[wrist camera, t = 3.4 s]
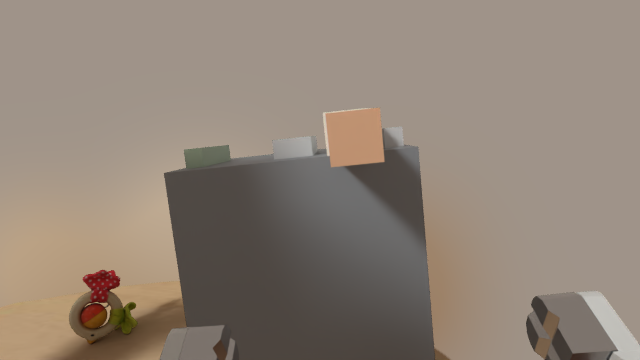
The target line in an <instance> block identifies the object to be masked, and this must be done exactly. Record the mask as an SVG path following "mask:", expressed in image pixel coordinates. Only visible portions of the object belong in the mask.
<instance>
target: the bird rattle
mask: <svg viewBox="0 0 640 360" xmlns="http://www.w3.org/2000/svg"><path fill="white" fill-rule="evenodd" d="M83 281H84V282H85V283H86V284H87V285H88V287H89V288H90V289H91V291H90V292H88V293H86V294H84V295H82V296H81V297H80V298H79V299H77V301H76V302H75V303H74V304H73V306H72V308H71V310H70V315H69V322H70V326H71V328H72V329H73V330H74V332H75V333H76V334H77V335H79V336H81V337H83V338H85V339H87V342H88V343H89V344H92V343H93V342H94V341H95V340H96V339H98V338H101V337H104V336H106V335H107V334H109V333H110V332H112V331H113V330H114V329H115V330H117V329H118V328H119V327H120V326H121V329H122V332H123V333H124V334H129V333H130V332H131V329H132V328H135V326H136V325H137V321H136V320H135V319H134V318H133V317H131V313H130V310H132V309H134V308H135V307H136V304H135V303H134V302H130V303H128V304H127V305H126V306H125V307H124V308H123V306H122V303H121V301H120V299H119V298H118V297H117V296H116V295H115V294H114V293H112V292H110V290H111V289H114V288H116V287H118V286H119V285H120V283H119V282H120V278H119V277H118V276H116V275H115V272H114V270H111V271H109V272H107V271H105V270H100V271H99V272H96V273H94V274H88V275H86V276H85V277H83ZM94 302H99V303H108V305H107V306H106V307H108V306H109V305H110V306H111V310H110V318H109V320H108V322H107V323H106V324H105V325H104V326H102V325H103V324H104V322H105V321H106V319H107V311H106V309H105V308H106V307H104V306H102V305H101V304H98V303H94ZM88 303H93V304H90V305H88V306H86V305H87V304H88ZM85 306H86V307H85ZM84 307H85V308H84ZM100 326H101V327H100ZM98 327H99V328H98Z"/></svg>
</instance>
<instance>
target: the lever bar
mask: <svg viewBox="0 0 640 360" xmlns="http://www.w3.org/2000/svg"><path fill="white" fill-rule="evenodd" d="M323 120H324V130H325V139H326V149H327V156H330V163H331V167H340V166H349V165H359V164H369V163H379V162H385V161H384V150H383V138H382V128H381V116H380V108H371V109H369V108H363V109H354V110H344V111H335V112H326V113H323Z"/></svg>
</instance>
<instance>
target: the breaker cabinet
mask: <svg viewBox="0 0 640 360" xmlns="http://www.w3.org/2000/svg"><path fill="white" fill-rule="evenodd" d="M382 138H383V150H384V161H385V162H379V163H369V164H359V165H349V166H340V167H331V163H330V156H327V149H319V150H317V140H316V136H309V137H299V138H290V139H280V140H272V143H273V152H274V154H271V155H262V156H252V157H244V158H234V159H230V151H229V145H226V146H215V147H205V148H196V149H187V150H184V155H185V162H186V168H185V169H181V170H176V171H171V172H167V173H164V177H165V183H166V189H167V197H168V204H169V210H170V217H171V224H172V230H173V237H174V244H175V251H176V257H177V264H178V270H179V277H180V284H181V291H182V298H183V304H184V311H185V318H186V325H187V327H201V326H214V325H227V324H228V326H229V328H230V330H231V336H230V338H231V339H233V340H235V341H236V344H237V346H238V352H239V360H435V353H434V341H433V328H432V315H431V302H430V291H429V278H428V265H427V252H426V239H425V226H424V213H423V200H422V188H421V175H420V162H419V151H418V147H416V146H410V145H404V144H403V131H402V127H394V128H384V129H382Z"/></svg>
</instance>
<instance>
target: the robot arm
mask: <svg viewBox="0 0 640 360" xmlns="http://www.w3.org/2000/svg"><path fill="white" fill-rule="evenodd" d="M531 305H532V307H533V309H534V311H533V312H532V313H530V314H529V315H528V318H527V322H526V326H527V334H528V337H529V340H530V343H531V345H532V347H533V349H534V351H535V352H536V353H537V354H539V355H540V356H541V357H543V358H544V359H545V360H640V344H639V343H638V342H637V340H636V339H635V338H634V336H633V335H632V334H631V332H630V331H629V330H628V328H627V327H626V326H625V324H624V323H623V322H622V320H621V319H620V317H619V316H618V315H617V314H616V312H615V311H614V309H613V308H612V307H611V305H610V304H609V303H608V301H607V300H606V298H605V297H604V296H603V295H602V294H601V293H600V292H598V291H585V292H577V293H575V292H570V293H561V294H551V295H542V296H536V297H535V298H533V300H532V304H531ZM230 336H231V330H230V328H229V326H228V324H227V325H214V326H201V327H186V328H175V329H172V330H171V331H170V333H169V334H168V336H167V339H166V342H165V345H164V348H163V351H162V354H161V357H160V360H239V352H238V346H237V344H236V341H235V340H233V339H231V338H230Z"/></svg>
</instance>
